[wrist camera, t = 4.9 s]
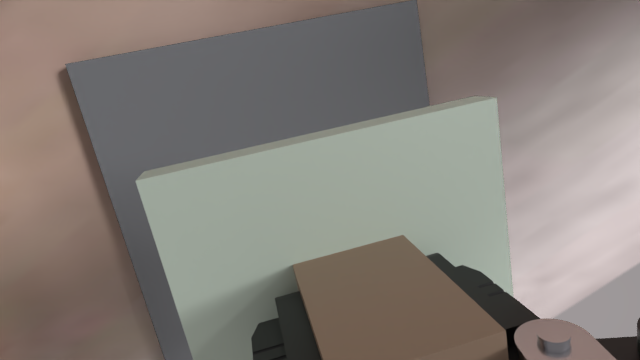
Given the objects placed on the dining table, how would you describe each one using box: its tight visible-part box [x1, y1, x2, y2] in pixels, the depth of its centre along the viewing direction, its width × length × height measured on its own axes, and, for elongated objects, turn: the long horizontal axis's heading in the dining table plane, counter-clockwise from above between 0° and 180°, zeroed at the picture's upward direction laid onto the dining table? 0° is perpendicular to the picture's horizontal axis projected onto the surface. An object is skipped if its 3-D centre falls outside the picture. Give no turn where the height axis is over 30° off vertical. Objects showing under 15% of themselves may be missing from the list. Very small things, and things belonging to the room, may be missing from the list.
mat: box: [65, 0, 430, 360], centre depth 22 cm, size 16×16×1 cm
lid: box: [136, 96, 513, 360], centre depth 10 cm, size 9×9×6 cm
